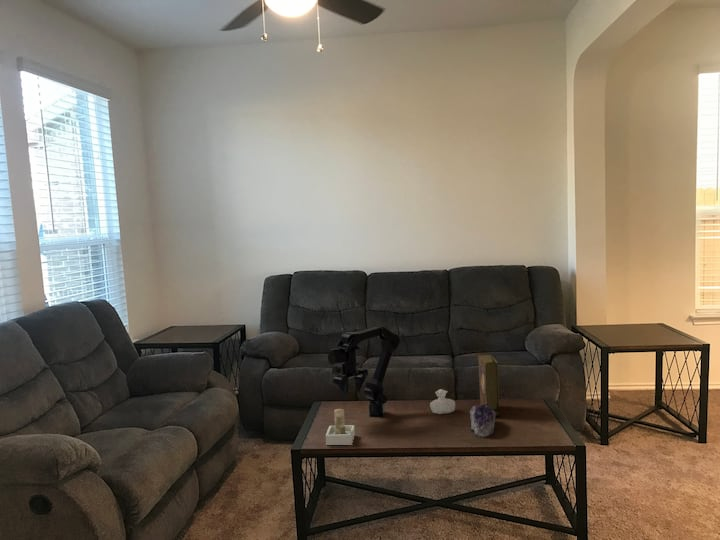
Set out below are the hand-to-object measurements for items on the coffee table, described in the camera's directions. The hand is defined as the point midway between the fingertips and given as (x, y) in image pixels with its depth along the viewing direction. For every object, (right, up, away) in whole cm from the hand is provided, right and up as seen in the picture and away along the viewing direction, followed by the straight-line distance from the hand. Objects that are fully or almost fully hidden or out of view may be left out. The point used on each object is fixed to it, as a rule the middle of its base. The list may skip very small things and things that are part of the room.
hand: (351, 394), depth 241 cm
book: (+64, -9, +6) cm, 65 cm away
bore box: (-4, -15, -18) cm, 24 cm away
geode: (+56, -12, -14) cm, 59 cm away
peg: (-4, -15, -18) cm, 24 cm away
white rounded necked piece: (+42, -10, +9) cm, 45 cm away
